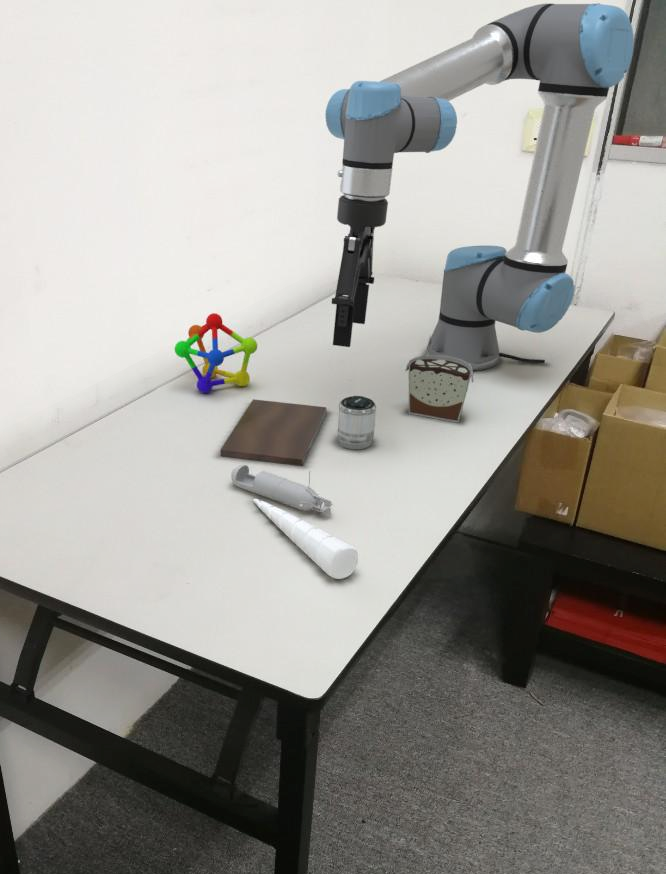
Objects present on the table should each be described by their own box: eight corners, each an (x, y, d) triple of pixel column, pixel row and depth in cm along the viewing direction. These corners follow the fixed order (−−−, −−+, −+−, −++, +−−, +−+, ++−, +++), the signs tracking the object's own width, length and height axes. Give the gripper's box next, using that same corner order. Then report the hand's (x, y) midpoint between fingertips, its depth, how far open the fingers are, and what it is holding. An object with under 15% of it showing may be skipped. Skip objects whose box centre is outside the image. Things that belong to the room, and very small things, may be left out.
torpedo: (224, 489, 134) (223, 451, 130) (242, 477, 137) (242, 440, 134) (321, 525, 125) (323, 485, 121) (338, 511, 128) (341, 473, 125)
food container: (474, 411, 160) (482, 360, 155) (466, 424, 155) (474, 371, 150) (410, 400, 164) (415, 349, 159) (400, 412, 160) (406, 360, 154)
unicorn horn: (275, 496, 132) (276, 468, 129) (359, 576, 114) (362, 545, 112) (247, 503, 130) (248, 475, 127) (329, 585, 112) (331, 554, 110)
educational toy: (169, 399, 166) (159, 322, 158) (199, 377, 176) (191, 303, 169) (242, 405, 160) (235, 326, 153) (269, 382, 170) (263, 306, 163)
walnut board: (326, 413, 159) (326, 407, 158) (302, 466, 141) (302, 459, 140) (252, 405, 162) (253, 399, 161) (220, 456, 143) (220, 449, 143)
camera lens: (379, 440, 149) (383, 398, 145) (362, 453, 145) (366, 410, 140) (347, 431, 152) (350, 390, 148) (330, 444, 148) (332, 402, 143)
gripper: (354, 183, 141) (341, 311, 152) (322, 206, 121) (310, 352, 131) (399, 187, 140) (383, 316, 151) (375, 211, 119) (358, 359, 130)
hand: (349, 333), depth 141 cm, fingers open, 13 cm apart
